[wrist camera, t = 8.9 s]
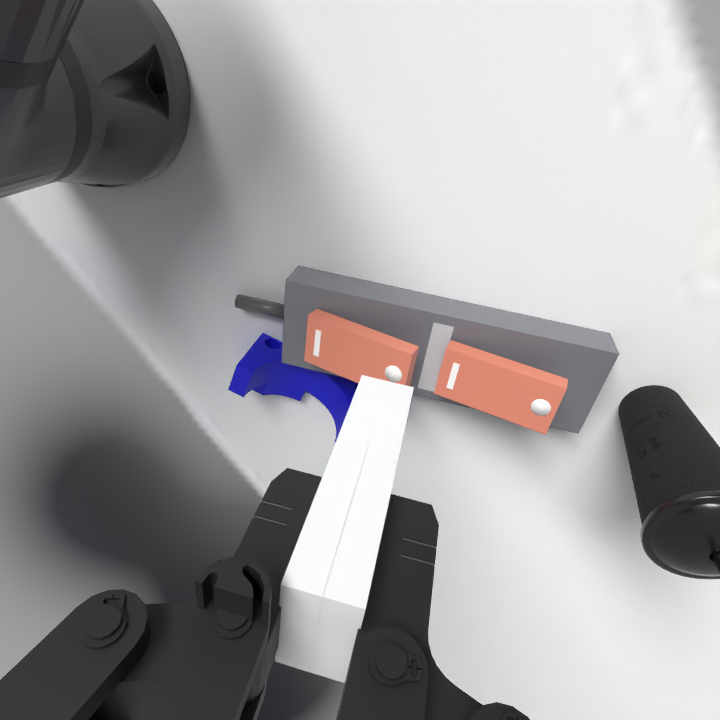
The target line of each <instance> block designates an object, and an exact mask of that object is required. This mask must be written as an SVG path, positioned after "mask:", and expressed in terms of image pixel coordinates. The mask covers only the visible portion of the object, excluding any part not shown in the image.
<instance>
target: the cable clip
mask: <svg viewBox="0 0 720 720" xmlns="http://www.w3.org/2000/svg"><path fill="white" fill-rule="evenodd" d="M282 344H283V343H282V342H280V341H278V340H276V339H274V338H272V337H270V336H268V335H266V334H264V333H262V334H261V336H260V337H259V338H258V339H257V341H256V342H255V343H254V344H253V346H252V347H251V348H250V349H249V351H248V352H247V353H246V354H245V356H244V357H243V358H242V359H241V361H240V362H239V363H238V364H237V366H236V369H235V372H234V375H233V378H232V381H231V383H230V386H229V389H228V390H230V391H232V392H234V393H236V394H238V395H240V396H242V397H244V396H245V395H246V394H247V393H248V392H249V391H251V390H254V391H256V392H258V393H260V394H262V395H269V394H274V395H282V396H287V397H290V398H293V399H296V400H298V401H300V400H301V398H302V396H303V395H304V393H305V391H306V392H308V393H310V394H312V395H313V396H315V397H316V398H317V399H318V400H320V401H321V402H322V403H323V404H324V405H325V406H326V408H327V409H328V410H329V412H330V413H331V415H332V417H333V419H334V421H335V425H336V439H335V442H336V440H337V438H338V435H339V433H340V430H341V428H342V425H343V422H344V420H345V417H346V415H347V412H348V410H349V407H350V404H351V402H352V399H353V397H354V394H355V392H356V389H357V386H358V384H359V383H356V382H354V381H351V380H349V379H347V378H344V377H340V376H336V375H331V374H327V373H323V372H319V371H315V370H310V369H306V368H302V367H298V366H294V365H290V364H285V363H282Z"/></svg>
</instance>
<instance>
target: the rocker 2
mask: <svg viewBox="0 0 720 720" xmlns="http://www.w3.org/2000/svg"><path fill="white" fill-rule="evenodd" d="M567 384H568V379H566V378H563V377H560V376H557V375H554V374H551V373H548V372H545V371H542V370H539V369H536V368H533V367H530V366H527V365H524V364H521V363H518V362H515V361H512V360H509V359H506V358H503V357H500V356H497V355H494V354H491V353H488V352H485V351H483V350H480V349H477V348H474V347H471V346H468V345H465V344H462V343H459V342H456V341H453V340H451V341H450V343H449V344H448V346H447V347H446V350H445V354H444V358H443V361H442V365H441V369H440V372H439V376H438V380H437V383H436V387H435V391H434V394H437V395H440V396H442V397H445V398H448V399H451V400H453V401H456V402H459V403H461V404H464V405H467V406H469V407H472V408H475V409H478V410H480V411H483V412H486V413H488V414H491V415H494V416H496V417H499V418H502V419H505V420H507V421H510V422H513V423H515V424H518V425H521V426H524V427H526V428H529V429H532V430H534V431H537V432H540V433H542V434H545V435H546V433H547V431H548V429H549V426H550V424H551V422H552V420H553V418H554V416H555V413H556V411H557V409H558V407H559V405H560V403H561V400H562V398H563V396H564V394H565V392H566V390H567Z"/></svg>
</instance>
